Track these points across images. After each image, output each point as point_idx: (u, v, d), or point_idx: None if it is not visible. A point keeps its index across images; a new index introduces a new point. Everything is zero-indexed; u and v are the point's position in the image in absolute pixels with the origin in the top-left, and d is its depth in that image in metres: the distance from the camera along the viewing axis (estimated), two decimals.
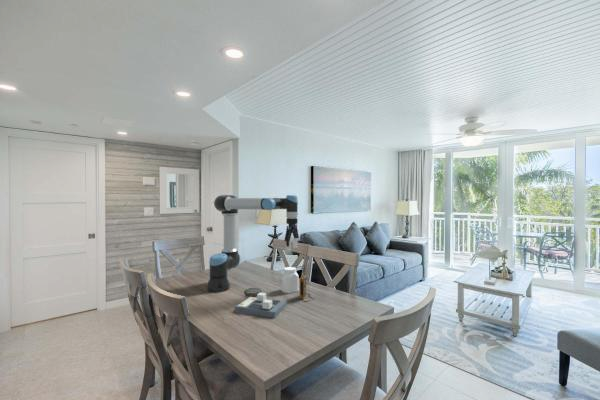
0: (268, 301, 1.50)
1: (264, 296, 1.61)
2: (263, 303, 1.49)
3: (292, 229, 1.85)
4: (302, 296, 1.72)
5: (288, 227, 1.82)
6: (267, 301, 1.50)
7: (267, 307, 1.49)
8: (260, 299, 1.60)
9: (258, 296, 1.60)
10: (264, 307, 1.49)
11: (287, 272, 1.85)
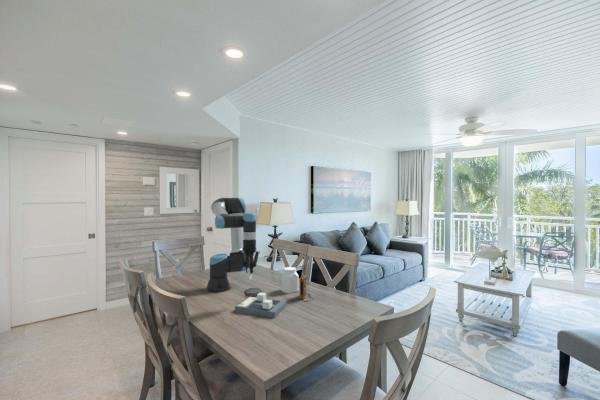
0: (268, 301, 1.50)
1: (264, 296, 1.61)
2: (263, 303, 1.49)
3: (245, 253, 1.64)
4: (302, 296, 1.72)
5: None
6: (267, 301, 1.50)
7: (267, 307, 1.49)
8: (260, 299, 1.60)
9: (258, 296, 1.60)
10: (264, 307, 1.49)
11: (287, 272, 1.85)
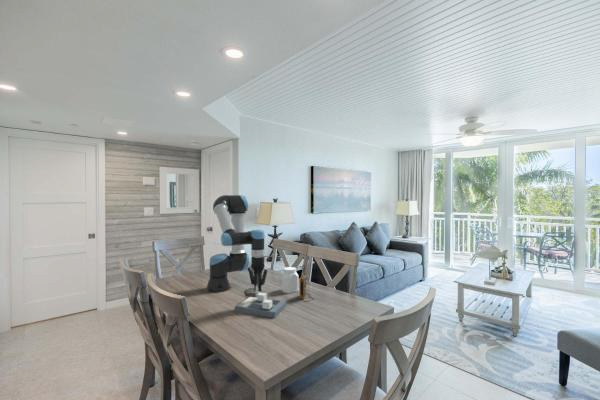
0: (268, 301, 1.50)
1: (265, 296, 1.61)
2: (263, 303, 1.49)
3: (253, 270, 1.62)
4: (302, 296, 1.72)
5: None
6: (267, 301, 1.50)
7: (267, 307, 1.49)
8: (261, 299, 1.60)
9: (259, 296, 1.60)
10: (264, 307, 1.49)
11: (287, 272, 1.85)
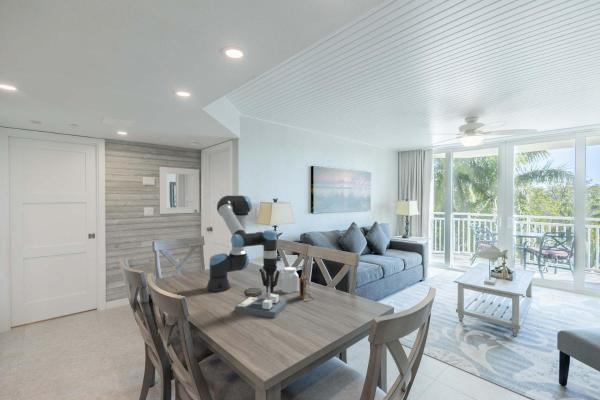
0: (268, 301, 1.50)
1: (277, 298, 1.58)
2: (263, 303, 1.49)
3: None
4: (302, 296, 1.72)
5: None
6: (267, 301, 1.50)
7: (267, 307, 1.49)
8: (273, 301, 1.57)
9: (271, 298, 1.58)
10: (264, 307, 1.49)
11: (287, 272, 1.85)
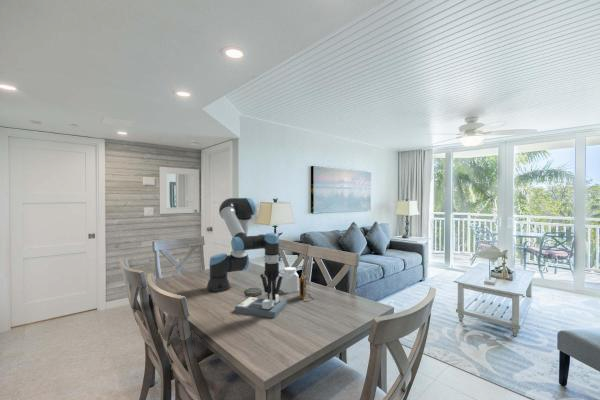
0: (268, 301, 1.50)
1: (277, 298, 1.58)
2: (263, 303, 1.50)
3: (267, 277, 1.49)
4: (302, 296, 1.72)
5: None
6: (267, 301, 1.50)
7: (267, 307, 1.49)
8: None
9: None
10: (264, 307, 1.49)
11: (287, 272, 1.85)
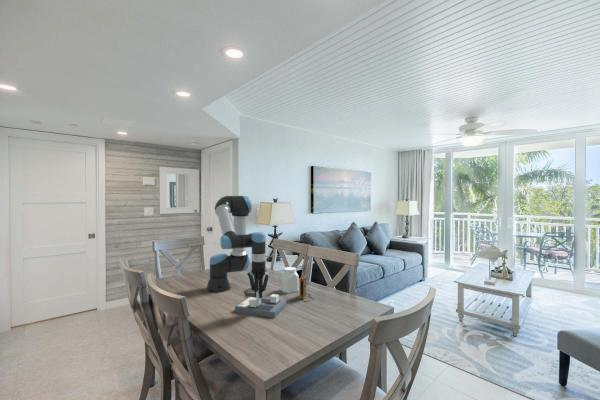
0: (255, 299, 1.53)
1: (277, 298, 1.58)
2: (250, 301, 1.52)
3: (254, 276, 1.52)
4: (302, 296, 1.72)
5: None
6: (254, 299, 1.53)
7: (254, 305, 1.51)
8: (273, 301, 1.57)
9: (271, 298, 1.58)
10: (251, 305, 1.52)
11: (287, 272, 1.85)
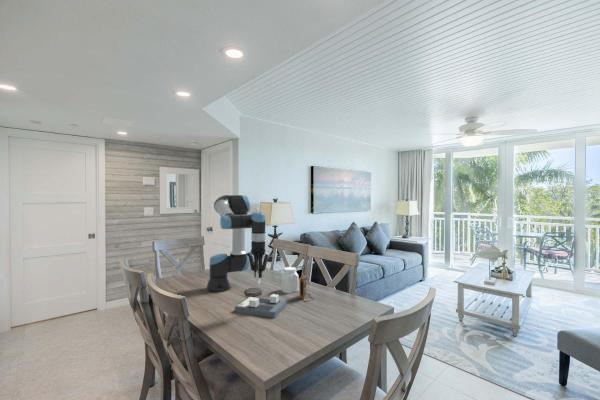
0: (255, 299, 1.53)
1: (277, 298, 1.58)
2: (250, 301, 1.52)
3: (253, 255, 1.52)
4: (302, 296, 1.72)
5: None
6: (254, 299, 1.53)
7: (254, 305, 1.51)
8: (273, 301, 1.57)
9: (271, 298, 1.58)
10: (251, 305, 1.52)
11: (287, 272, 1.85)
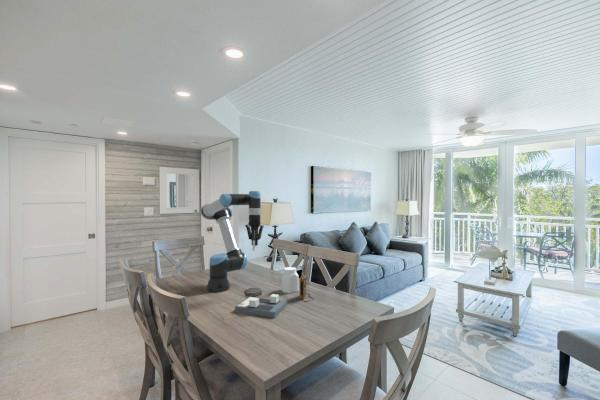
0: (255, 299, 1.53)
1: (277, 298, 1.58)
2: (250, 301, 1.52)
3: (251, 227, 1.82)
4: (302, 296, 1.72)
5: None
6: (254, 299, 1.53)
7: (254, 305, 1.51)
8: (273, 301, 1.57)
9: (271, 298, 1.58)
10: (251, 305, 1.52)
11: (287, 272, 1.85)
